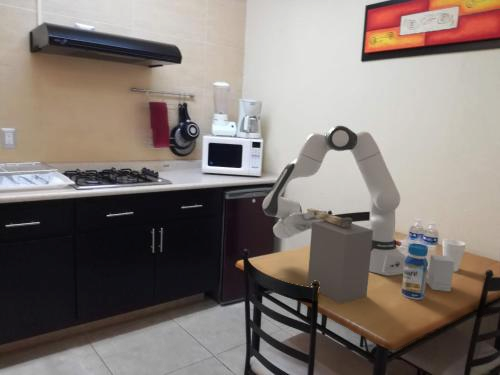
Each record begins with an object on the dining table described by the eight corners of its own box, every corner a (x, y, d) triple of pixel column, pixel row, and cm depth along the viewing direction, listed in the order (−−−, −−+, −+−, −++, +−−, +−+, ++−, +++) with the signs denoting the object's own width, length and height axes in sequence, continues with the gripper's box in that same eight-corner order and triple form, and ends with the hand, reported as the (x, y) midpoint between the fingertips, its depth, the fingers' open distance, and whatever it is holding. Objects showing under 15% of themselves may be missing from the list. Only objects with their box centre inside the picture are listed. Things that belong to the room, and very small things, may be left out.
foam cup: (464, 269, 182) (468, 242, 180) (458, 274, 176) (462, 246, 173) (442, 263, 189) (446, 237, 186) (436, 268, 182) (439, 241, 180)
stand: (307, 285, 157) (312, 222, 152) (333, 279, 164) (338, 218, 160) (339, 303, 142) (345, 234, 137) (366, 296, 149) (373, 230, 145)
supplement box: (450, 292, 156) (454, 261, 154) (430, 289, 158) (434, 259, 156) (445, 284, 164) (449, 255, 161) (426, 282, 165) (430, 253, 163)
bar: (305, 214, 163) (306, 207, 163) (312, 213, 165) (313, 206, 165) (343, 228, 145) (344, 219, 144) (351, 226, 147) (352, 218, 146)
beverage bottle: (429, 299, 149) (435, 248, 145) (410, 301, 146) (416, 250, 143) (414, 289, 157) (419, 241, 153) (396, 291, 154) (401, 242, 151)
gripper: (277, 217, 166) (295, 207, 155) (314, 213, 177) (334, 204, 166) (280, 232, 164) (299, 223, 153) (317, 227, 175) (338, 218, 164)
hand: (317, 213), depth 160 cm, fingers closed on bar, 2 cm apart
